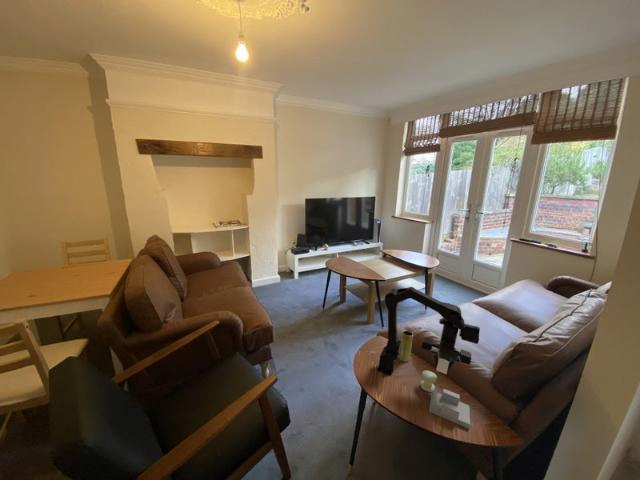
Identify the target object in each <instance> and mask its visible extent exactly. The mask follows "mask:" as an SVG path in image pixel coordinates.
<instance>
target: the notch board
mask: <svg viewBox="0 0 640 480" xmlns="http://www.w3.org/2000/svg"><path fill="white" fill-rule="evenodd" d="M430 393H431V394H430V401H429V402H430V403H429V407H428V408H429V409H428V412H429V413H431V414H434V415H435V416H438V417H441V418H443V419H445V420H447V421H450V422H453V423H454V424H457V425H459V426H462V427H464V428H466V429H468V430H469V429H470V425H471V416H470V415H471V414H470V405H469V404H466V403H464V402H462V401H460V399H461V398H460V394H458V393H455V392H453V391H450V390H449V389H444V388H443V389H442V393H439V392H436V391H435V390H434V391H432V392H430Z"/></svg>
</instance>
